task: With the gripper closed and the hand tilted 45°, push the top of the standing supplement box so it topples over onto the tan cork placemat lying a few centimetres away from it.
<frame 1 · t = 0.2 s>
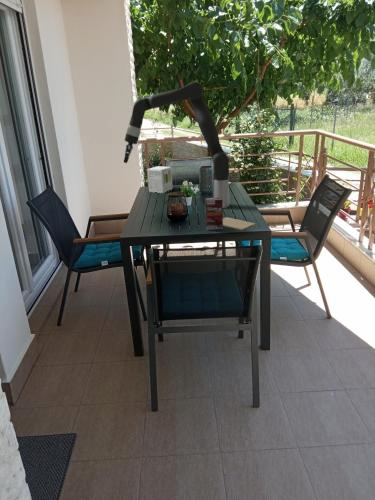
hand: (125, 161, 230), 31 cm above the table, tool tilted 20°, fingers open, 8 cm apart
supplement box 2: (161, 191, 296), on the table
cork placemat: (233, 223, 210), on the table
supplement box: (214, 228, 205), on the table
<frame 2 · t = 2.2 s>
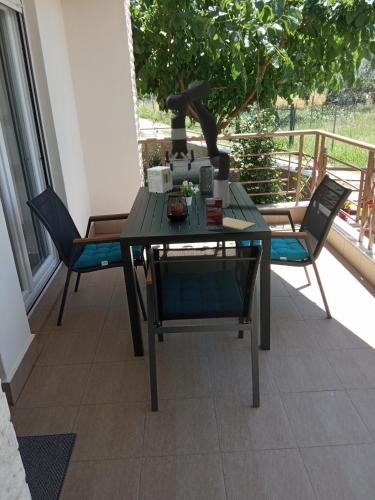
hand: (180, 171, 199), 30 cm above the table, tool pointing down, fingers open, 8 cm apart
nothing on the table moved.
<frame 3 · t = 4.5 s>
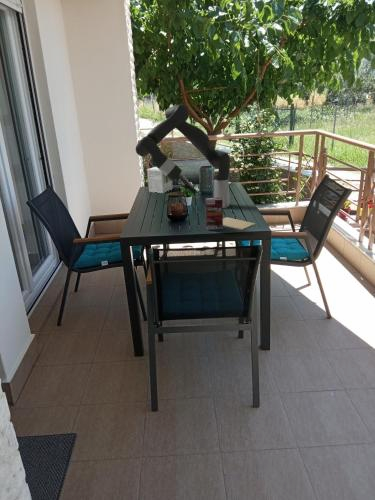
hand: (196, 193, 196), 20 cm above the table, tool tilted 45°, fingers closed
nothing on the table moved.
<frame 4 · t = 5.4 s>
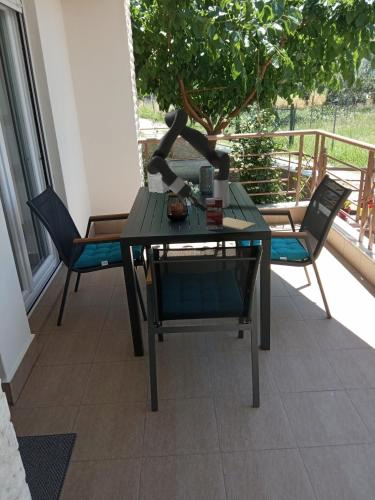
hand: (205, 210, 199), 10 cm above the table, tool tilted 45°, fingers closed
supplement box: (214, 228, 205), on the table, touching gripper
everything else where it was.
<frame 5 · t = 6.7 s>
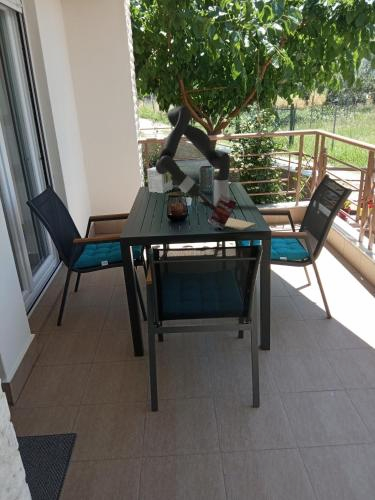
hand: (214, 209, 199), 11 cm above the table, tool tilted 45°, fingers closed
supplement box: (215, 225, 204), point 2 cm above the table, touching gripper
everything else where it was.
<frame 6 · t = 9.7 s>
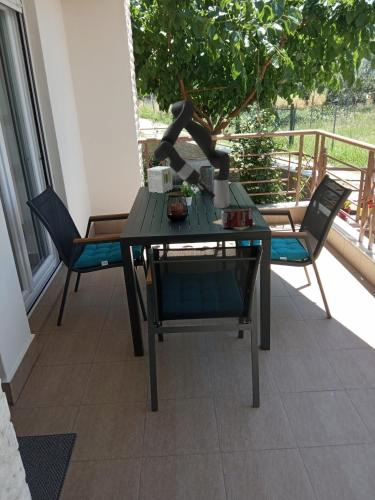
hand: (213, 196, 197), 17 cm above the table, tool tilted 45°, fingers closed
supplement box: (221, 219, 203), point 5 cm above the table, touching cork placemat
everything else where it was.
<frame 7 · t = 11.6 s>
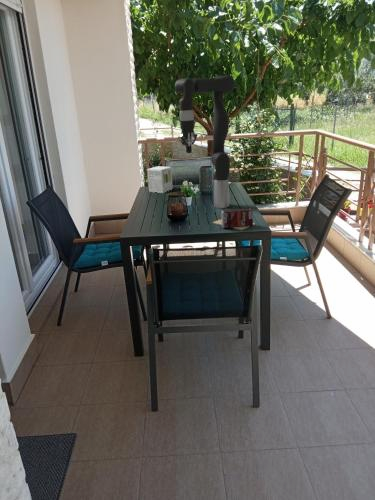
hand: (189, 152, 212), 37 cm above the table, tool pointing down, fingers closed
nothing on the table moved.
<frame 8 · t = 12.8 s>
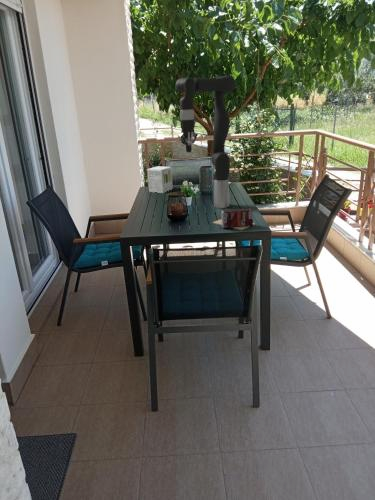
hand: (188, 152, 212), 37 cm above the table, tool pointing down, fingers closed
nothing on the table moved.
at the end: supplement box tilted 89°; supplement box inside the target area (7.3 cm from its centre), point 4.6 cm above the table; the gripper is holding nothing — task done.
